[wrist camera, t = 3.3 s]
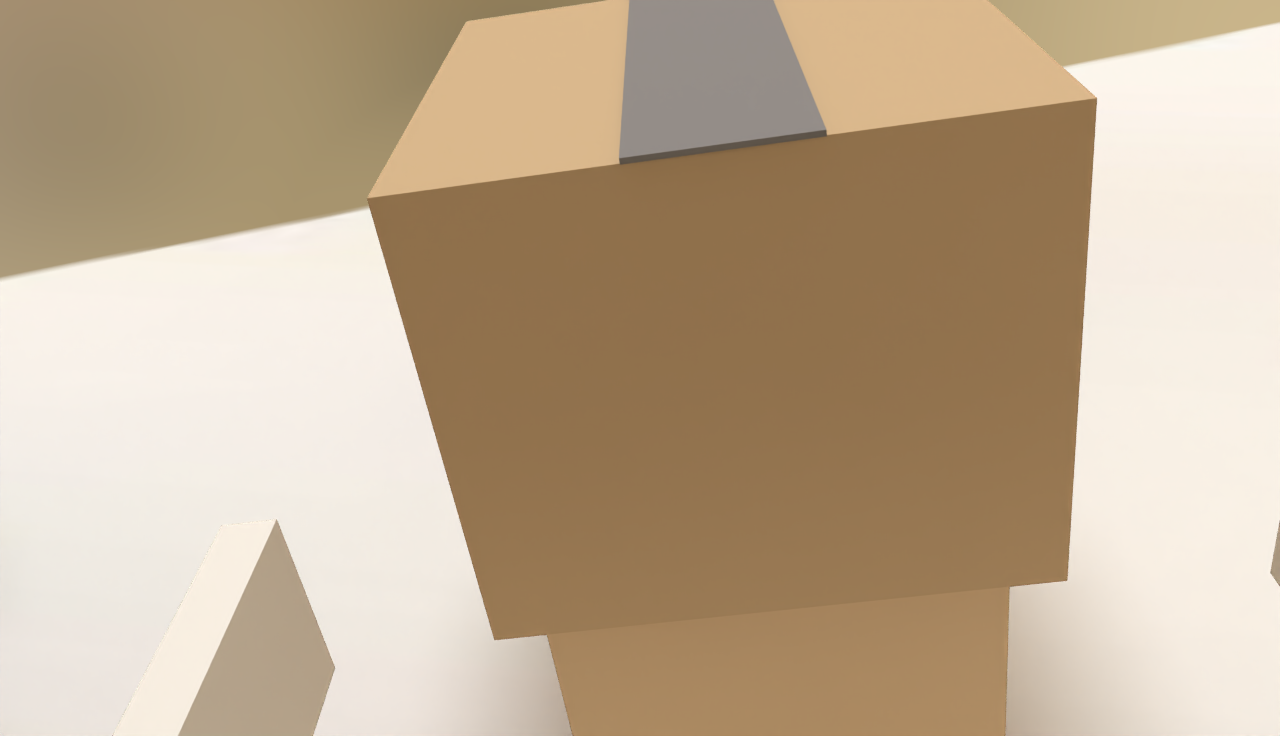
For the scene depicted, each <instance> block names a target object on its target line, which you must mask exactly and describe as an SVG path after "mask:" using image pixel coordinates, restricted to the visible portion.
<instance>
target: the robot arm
mask: <svg viewBox="0 0 1280 736" xmlns="http://www.w3.org/2000/svg"><path fill="white" fill-rule="evenodd" d="M1270 573H1271V574H1272V576H1273V577H1274V579H1275V580H1276V581H1277V583H1278V584H1279V586H1280V522H1279V528H1278V533H1277V539H1276V544H1275V550H1274V555H1273V561H1272V566H1271V572H1270ZM334 670H335V666H334V664H333V661H332V659H331V656H330V653H329V651H328V648H327V646H326V643H325V641H324V638H323V636H322V633H321V631H320V628H319V626H318V623H317V620H316V618H315V615H314V613H313V610H312V608H311V605H310V603H309V600H308V598H307V595H306V593H305V590H304V587H303V585H302V582H301V580H300V577H299V575H298V572H297V570H296V567H295V565H294V562H293V559H292V557H291V554H290V552H289V549H288V547H287V544H286V542H285V539H284V537H283V534H282V532H281V529H280V526H279V524H278V521H277V519H274V520H265V521H257V522H248V523H239V524H230V525H221V527H220V529H219V531H218V533H217V535H216V537H215V539H214V541H213V543H212V545H211V546H210V548H209V550H208V552H207V554H206V556H205V558H204V560H203V562H202V564H201V566H200V568H199V570H198V572H197V573H196V575H195V577H194V579H193V581H192V583H191V585H190V587H189V589H188V591H187V593H186V595H185V597H184V598H183V600H182V602H181V604H180V606H179V608H178V610H177V612H176V614H175V616H174V618H173V620H172V622H171V624H170V625H169V627H168V629H167V631H166V633H165V635H164V637H163V639H162V641H161V643H160V645H159V647H158V649H157V650H156V652H155V654H154V656H153V658H152V660H151V662H150V664H149V666H148V668H147V670H146V672H145V674H144V676H143V677H142V679H141V681H140V683H139V685H138V687H137V689H136V691H135V693H134V695H133V697H132V699H131V701H130V703H129V704H128V706H127V708H126V710H125V712H124V714H123V716H122V718H121V720H120V722H119V724H118V726H117V728H116V729H115V731H114V733H113V735H112V736H313V734H314V731H315V728H316V725H317V722H318V719H319V716H320V713H321V710H322V706H323V703H324V700H325V697H326V694H327V691H328V688H329V685H330V682H331V679H332V676H333V673H334Z"/></svg>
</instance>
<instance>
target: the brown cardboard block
mask: <svg viewBox="0 0 1280 736" xmlns="http://www.w3.org/2000/svg"><path fill="white" fill-rule="evenodd" d="M1096 106H1097V98H1096V97H1095V96H1094V95H1093V94H1092V93H1091V92H1090V91H1089V90H1087V89H1086V88H1085V87H1084V86H1083V85H1082V84H1081V83H1080V82H1079V81H1077V80H1076V79H1075V78H1074V77H1073V76H1072V75H1071V74H1070V73H1069V72H1067V71H1066V70H1065V69H1064V68H1063V67H1062V66H1061V65H1060V64H1058V63H1057V62H1056V61H1055V60H1054V59H1053V58H1051V56H1050V55H1048V54H1047V53H1046V52H1045V51H1044V50H1043V49H1041V47H1039V46H1038V45H1037V44H1036V43H1035V42H1034V41H1033V40H1032V39H1031V38H1029V37H1028V36H1027V35H1026V34H1025V33H1024V32H1023V31H1022V30H1020V29H1019V28H1018V27H1017V26H1016V25H1015V24H1014V23H1013V22H1012V21H1010V20H1009V19H1008V18H1007V17H1006V16H1005V15H1004V14H1003V13H1001V12H1000V11H999V10H998V9H997V8H996V7H995V6H994V5H993V4H991V3H990V2H989V1H988V0H608V1H600V2H595V3H587V4H581V5H574V6H567V7H560V8H553V9H547V10H541V11H533V12H527V13H520V14H513V15H507V16H500V17H493V18H486V19H480V20H473V21H467V22H466V23H465V25H464V27H463V29H462V30H461V32H460V34H459V36H458V37H457V39H456V41H455V43H454V45H453V46H452V48H451V50H450V52H449V53H448V55H447V57H446V59H445V61H444V62H443V64H442V66H441V68H440V69H439V71H438V73H437V75H436V77H435V78H434V80H433V82H432V84H431V85H430V87H429V89H428V91H427V93H426V95H425V96H424V98H423V100H422V101H421V103H420V105H419V107H418V109H417V110H416V112H415V114H414V116H413V117H412V119H411V121H410V123H409V125H408V127H407V128H406V130H405V132H404V134H403V135H402V137H401V139H400V141H399V142H398V144H397V146H396V148H395V150H394V151H393V153H392V155H391V156H390V158H389V160H388V162H387V164H386V166H385V167H384V169H383V171H382V172H381V174H380V176H379V178H378V180H377V182H376V183H375V185H374V187H373V188H372V190H371V192H370V194H369V196H368V197H367V200H368V204H369V207H370V211H371V214H372V218H373V221H374V224H375V228H376V231H377V235H378V238H379V242H380V245H381V249H382V252H383V256H384V259H385V263H386V266H387V269H388V273H389V276H390V280H391V283H392V287H393V290H394V294H395V297H396V301H397V304H398V308H399V311H400V315H401V318H402V321H403V325H404V328H405V332H406V335H407V339H408V342H409V346H410V349H411V353H412V356H413V360H414V363H415V366H416V370H417V373H418V377H419V380H420V384H421V387H422V391H423V394H424V398H425V401H426V405H427V408H428V411H429V415H430V418H431V422H432V425H433V429H434V432H435V436H436V439H437V443H438V446H439V450H440V453H441V457H442V460H443V463H444V467H445V470H446V474H447V477H448V481H449V484H450V488H451V491H452V495H453V498H454V502H455V505H456V508H457V512H458V515H459V519H460V522H461V526H462V529H463V533H464V536H465V540H466V543H467V547H468V550H469V553H470V557H471V560H472V564H473V567H474V571H475V574H476V578H477V581H478V585H479V588H480V592H481V595H482V598H483V602H484V605H485V609H486V612H487V616H488V619H489V623H490V626H491V630H492V633H493V637H494V640H501V639H510V638H520V637H530V636H539V635H549V634H558V633H568V632H578V631H587V630H597V629H607V628H616V627H626V626H635V625H645V624H655V623H664V622H674V621H684V620H693V619H703V618H712V617H722V616H732V615H741V614H751V613H761V612H770V611H780V610H789V609H799V608H809V607H818V606H828V605H838V604H847V603H857V602H866V601H876V600H886V599H895V598H905V597H915V596H924V595H934V594H943V593H953V592H963V591H972V590H982V589H992V588H1001V587H1011V586H1021V585H1030V584H1040V583H1049V582H1059V581H1067V576H1068V560H1069V544H1070V528H1071V511H1072V495H1073V479H1074V463H1075V447H1076V430H1077V414H1078V398H1079V382H1080V366H1081V349H1082V333H1083V317H1084V301H1085V285H1086V268H1087V252H1088V236H1089V220H1090V203H1091V187H1092V171H1093V155H1094V139H1095V122H1096Z"/></svg>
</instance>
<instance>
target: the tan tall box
mask: <svg viewBox="0 0 1280 736" xmlns="http://www.w3.org/2000/svg"><path fill="white" fill-rule="evenodd" d="M1008 620H1009V587H1001V588H992V589H982V590H972V591H963V592H953V593H943V594H934V595H924V596H915V597H905V598H895V599H886V600H876V601H866V602H857V603H847V604H838V605H828V606H818V607H809V608H799V609H789V610H780V611H770V612H761V613H751V614H741V615H732V616H722V617H712V618H703V619H693V620H684V621H674V622H664V623H655V624H645V625H635V626H626V627H616V628H607V629H597V630H587V631H578V632H568V633H558V634H549V635H547V637H548V641H549V645H550V649H551V653H552V656H553V660H554V664H555V668H556V672H557V676H558V680H559V684H560V688H561V692H562V696H563V699H564V703H565V707H566V711H567V715H568V719H569V723H570V727H571V731H572V735H573V736H1005V729H1006V693H1007V656H1008Z"/></svg>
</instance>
